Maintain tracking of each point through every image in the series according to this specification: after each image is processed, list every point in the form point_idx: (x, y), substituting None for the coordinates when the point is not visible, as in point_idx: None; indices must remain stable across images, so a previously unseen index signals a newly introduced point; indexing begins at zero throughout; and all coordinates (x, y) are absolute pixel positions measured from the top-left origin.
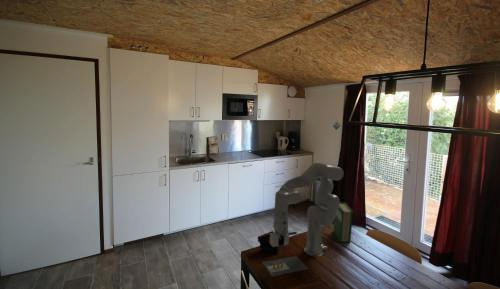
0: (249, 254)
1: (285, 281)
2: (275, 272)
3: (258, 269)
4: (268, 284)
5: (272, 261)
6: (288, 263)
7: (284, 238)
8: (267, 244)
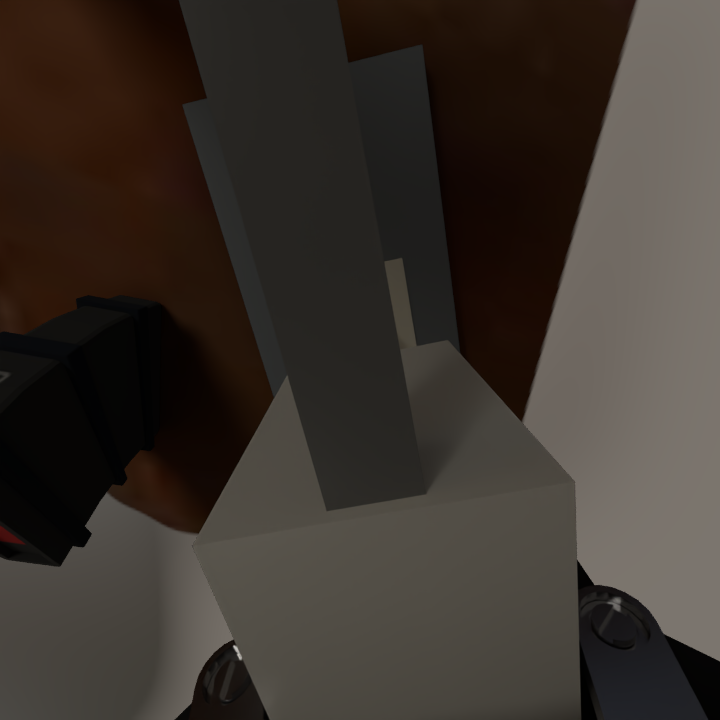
0: (171, 506)
1: (515, 325)
2: None
3: None
4: None
5: (282, 376)
6: None
7: (649, 618)
8: (103, 437)
